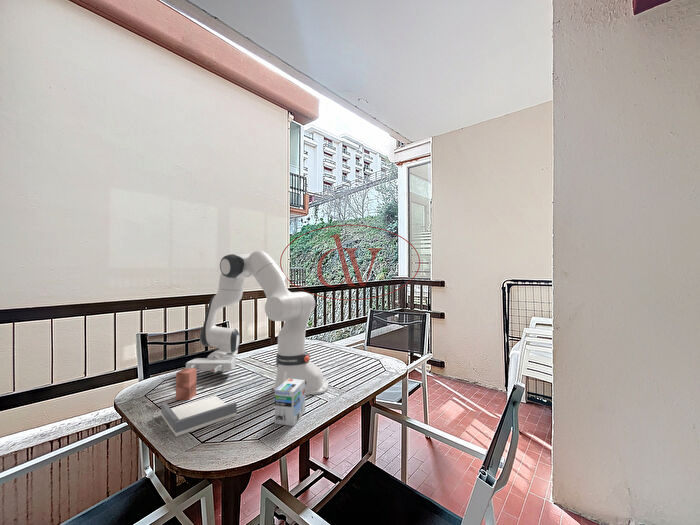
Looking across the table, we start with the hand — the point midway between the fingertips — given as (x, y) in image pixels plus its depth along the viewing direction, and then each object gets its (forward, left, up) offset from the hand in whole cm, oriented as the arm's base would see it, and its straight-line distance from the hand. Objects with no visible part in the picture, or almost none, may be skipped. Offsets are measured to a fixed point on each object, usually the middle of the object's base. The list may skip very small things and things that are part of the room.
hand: (202, 370), depth 126 cm
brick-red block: (0, +12, -6) cm, 13 cm away
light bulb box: (-43, +27, -6) cm, 51 cm away
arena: (-12, +26, -6) cm, 29 cm away
